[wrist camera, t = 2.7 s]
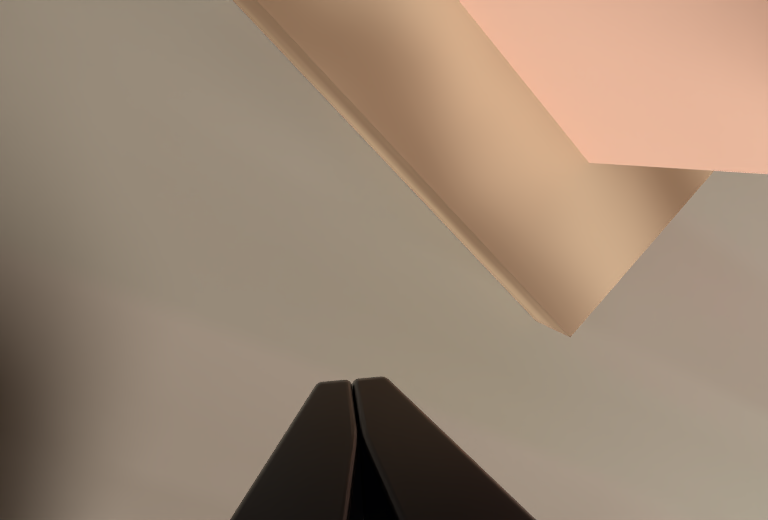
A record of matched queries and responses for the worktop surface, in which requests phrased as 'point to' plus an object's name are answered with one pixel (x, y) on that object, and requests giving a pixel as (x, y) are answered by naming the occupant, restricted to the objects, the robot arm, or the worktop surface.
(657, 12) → the terracotta block
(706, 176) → the tan wooden slab
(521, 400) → the worktop surface
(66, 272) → the worktop surface
